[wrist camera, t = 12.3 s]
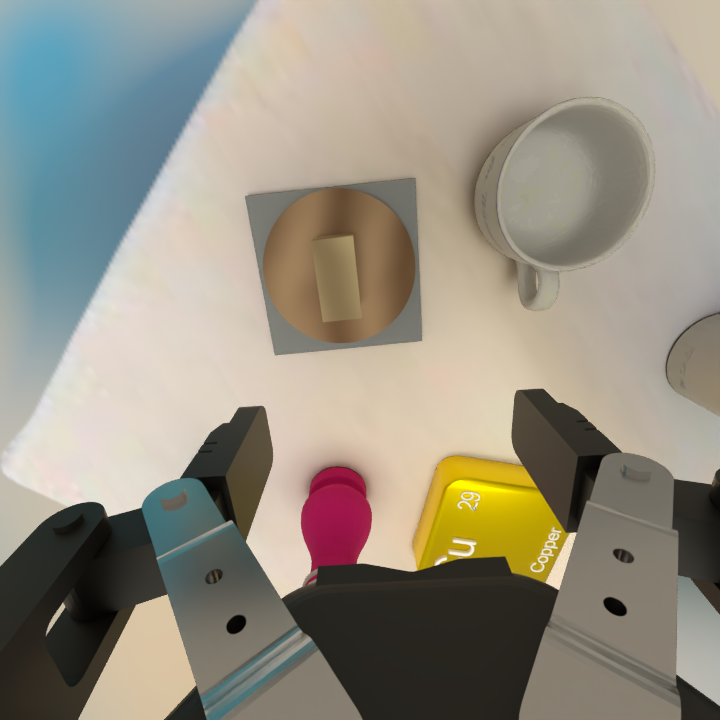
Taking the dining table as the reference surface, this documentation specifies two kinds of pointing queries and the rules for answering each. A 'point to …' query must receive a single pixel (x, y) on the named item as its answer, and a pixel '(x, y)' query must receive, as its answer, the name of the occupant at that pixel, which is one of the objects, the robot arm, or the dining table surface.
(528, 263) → the teacup
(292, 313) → the lid
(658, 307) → the dining table surface
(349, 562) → the pepper mill
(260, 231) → the mat
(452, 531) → the element tile
